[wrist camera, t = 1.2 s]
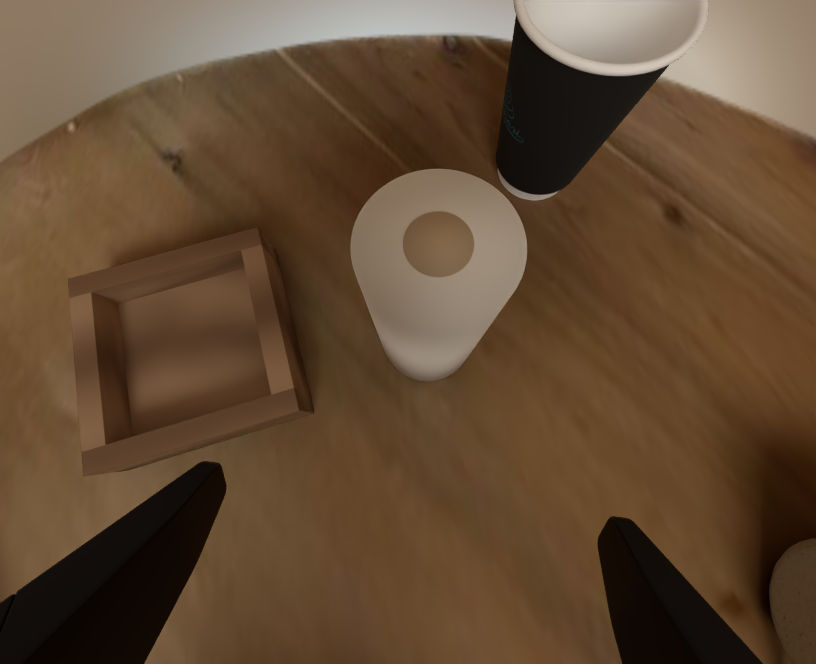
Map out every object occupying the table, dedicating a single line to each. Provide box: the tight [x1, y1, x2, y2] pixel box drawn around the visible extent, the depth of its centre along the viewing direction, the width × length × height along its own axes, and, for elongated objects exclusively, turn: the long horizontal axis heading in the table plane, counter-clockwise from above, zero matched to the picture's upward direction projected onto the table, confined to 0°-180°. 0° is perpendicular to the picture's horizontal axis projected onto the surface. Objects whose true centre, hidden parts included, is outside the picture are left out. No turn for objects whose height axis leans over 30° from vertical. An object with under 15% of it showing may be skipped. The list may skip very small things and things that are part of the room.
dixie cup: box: [496, 0, 708, 200], centre depth 21 cm, size 8×8×11 cm
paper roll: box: [350, 169, 527, 381], centre depth 18 cm, size 6×6×12 cm
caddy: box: [68, 227, 314, 476], centre depth 22 cm, size 11×11×3 cm
